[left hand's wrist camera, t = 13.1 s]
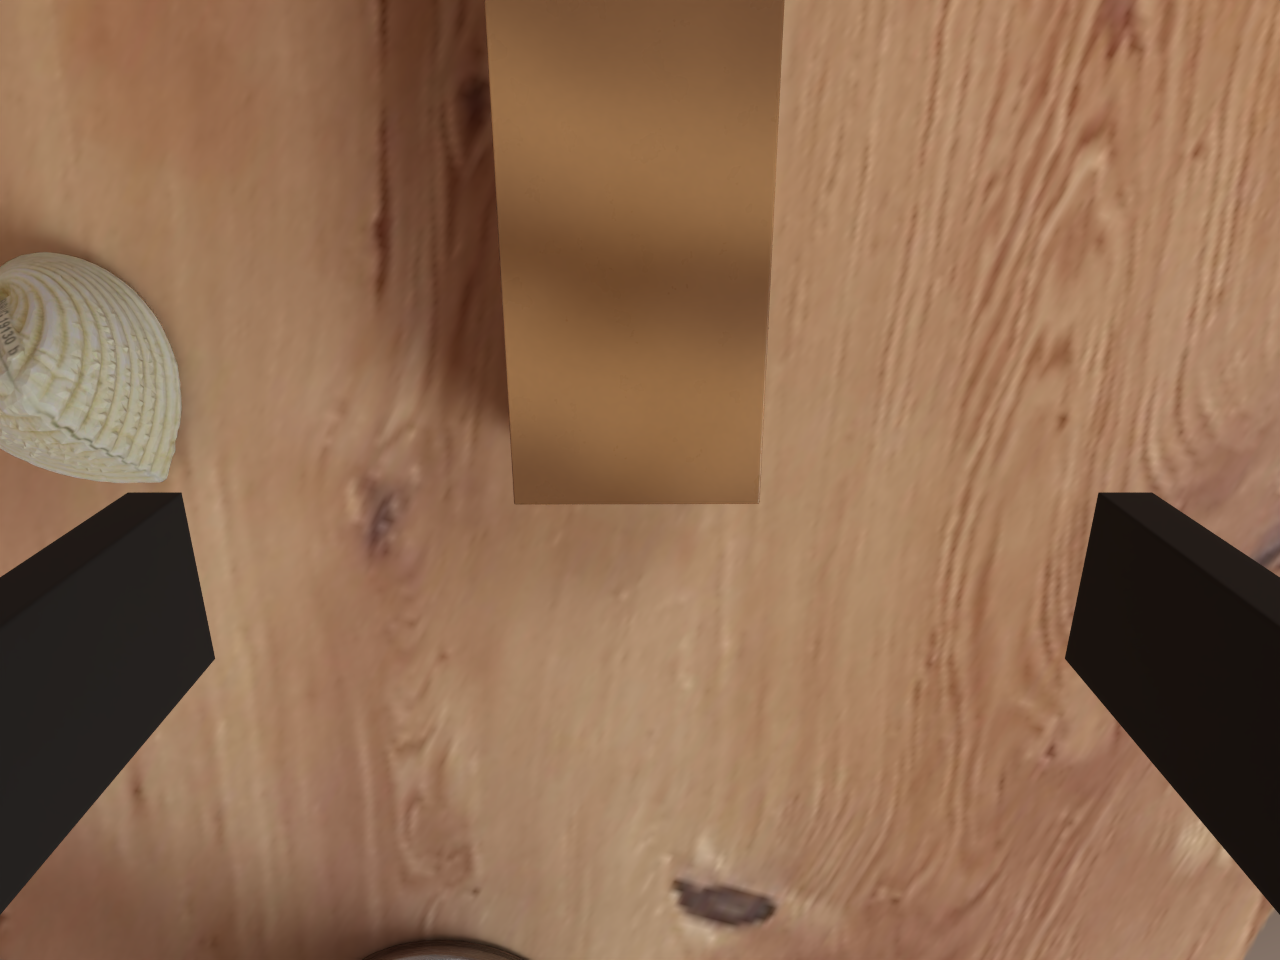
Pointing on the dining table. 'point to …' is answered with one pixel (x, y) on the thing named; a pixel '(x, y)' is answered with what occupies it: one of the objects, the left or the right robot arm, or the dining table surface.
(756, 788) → the dining table surface
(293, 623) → the dining table surface
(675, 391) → the long beam
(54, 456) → the seashell
